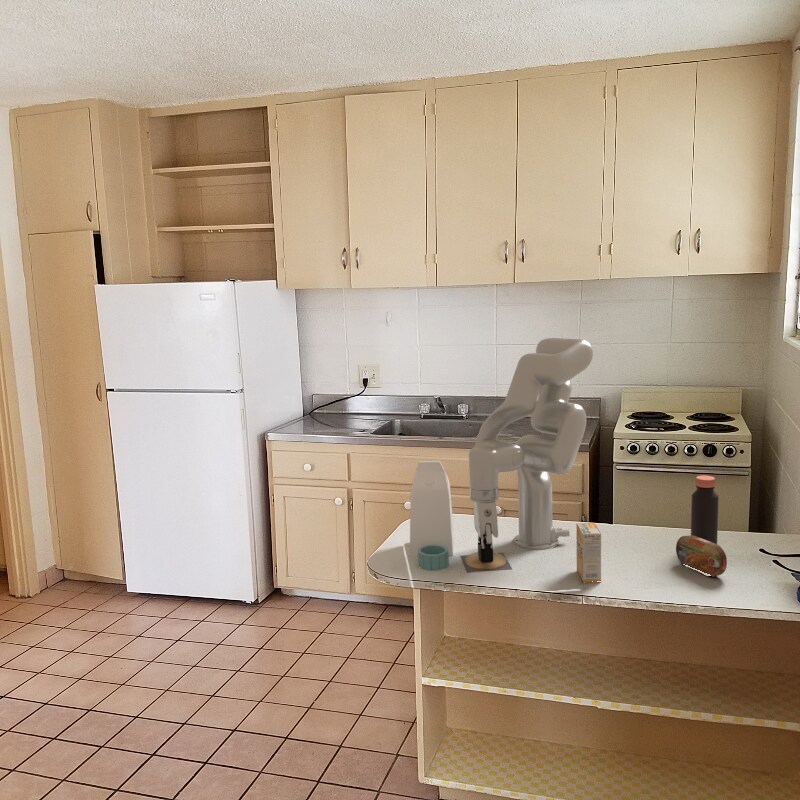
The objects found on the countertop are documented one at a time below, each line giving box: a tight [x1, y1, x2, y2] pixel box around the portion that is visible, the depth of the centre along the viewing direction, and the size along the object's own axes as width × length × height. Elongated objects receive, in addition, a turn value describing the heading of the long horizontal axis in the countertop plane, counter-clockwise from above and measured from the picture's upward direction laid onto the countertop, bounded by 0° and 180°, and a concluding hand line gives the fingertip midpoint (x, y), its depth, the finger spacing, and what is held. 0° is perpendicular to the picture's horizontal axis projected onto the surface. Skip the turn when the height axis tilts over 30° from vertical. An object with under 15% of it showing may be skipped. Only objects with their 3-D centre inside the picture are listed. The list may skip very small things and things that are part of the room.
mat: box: [459, 552, 513, 573], centre depth 204 cm, size 12×12×1 cm
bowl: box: [417, 545, 450, 571], centre depth 204 cm, size 8×8×4 cm
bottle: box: [690, 475, 719, 545], centre depth 207 cm, size 7×7×20 cm
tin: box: [675, 534, 728, 578], centre depth 193 cm, size 15×3×8 cm, turn 23°
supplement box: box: [576, 522, 602, 583], centre depth 192 cm, size 8×5×13 cm, turn 178°
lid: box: [465, 544, 507, 570], centre depth 204 cm, size 11×11×5 cm
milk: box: [409, 460, 455, 557], centre depth 214 cm, size 12×12×26 cm
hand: (485, 558), depth 204 cm, fingers closed on lid, 3 cm apart
